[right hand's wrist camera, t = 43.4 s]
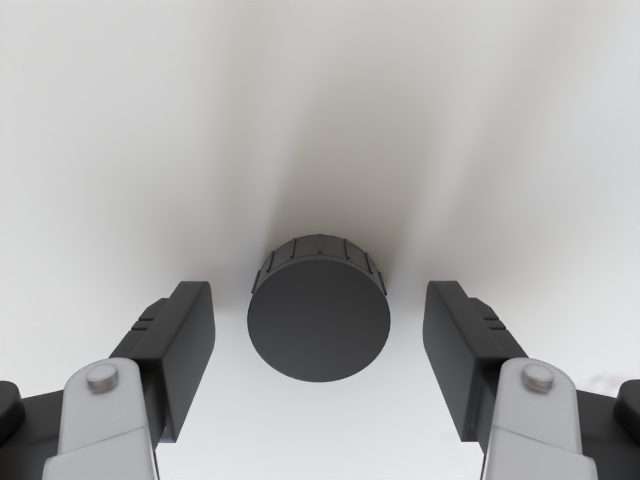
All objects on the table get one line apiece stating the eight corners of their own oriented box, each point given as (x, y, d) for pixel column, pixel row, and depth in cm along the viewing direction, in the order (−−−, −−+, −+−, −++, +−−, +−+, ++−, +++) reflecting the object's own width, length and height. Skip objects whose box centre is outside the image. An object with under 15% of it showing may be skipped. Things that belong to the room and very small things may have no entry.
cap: (397, 247, 12) (409, 275, 11) (364, 354, 14) (370, 393, 12) (267, 221, 12) (258, 245, 10) (247, 333, 13) (236, 370, 12)
